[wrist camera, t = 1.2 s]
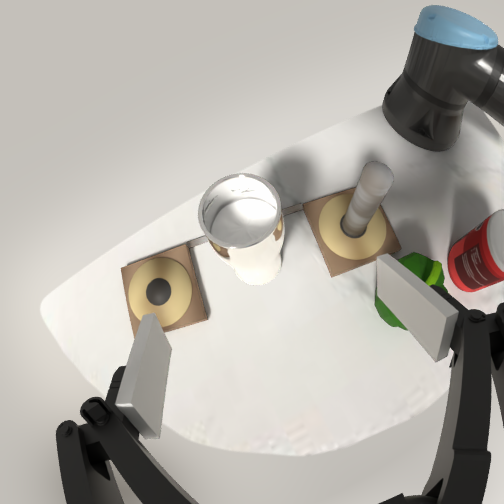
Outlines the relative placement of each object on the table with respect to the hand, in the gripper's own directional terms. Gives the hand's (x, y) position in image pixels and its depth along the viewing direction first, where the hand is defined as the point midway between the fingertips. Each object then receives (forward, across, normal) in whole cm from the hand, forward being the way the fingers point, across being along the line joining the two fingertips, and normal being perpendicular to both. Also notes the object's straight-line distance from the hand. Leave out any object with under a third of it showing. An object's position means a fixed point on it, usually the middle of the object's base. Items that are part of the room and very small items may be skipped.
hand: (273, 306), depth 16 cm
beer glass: (+20, 0, -6) cm, 21 cm away
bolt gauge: (+20, 0, -6) cm, 21 cm away
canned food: (+13, +29, -12) cm, 34 cm away
